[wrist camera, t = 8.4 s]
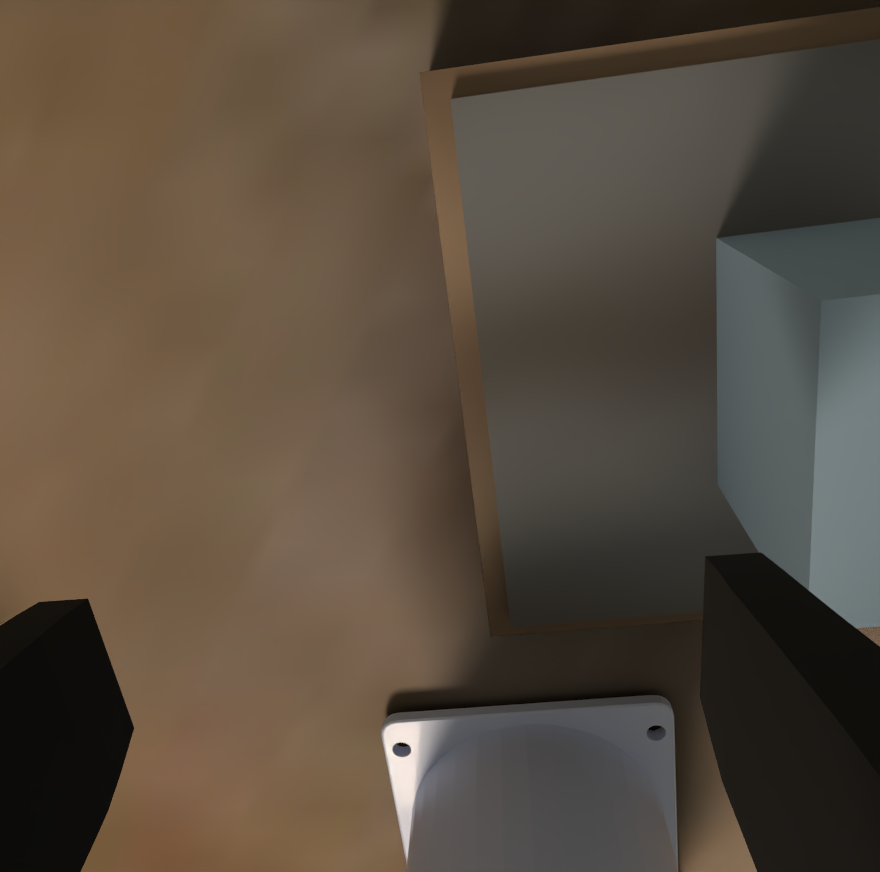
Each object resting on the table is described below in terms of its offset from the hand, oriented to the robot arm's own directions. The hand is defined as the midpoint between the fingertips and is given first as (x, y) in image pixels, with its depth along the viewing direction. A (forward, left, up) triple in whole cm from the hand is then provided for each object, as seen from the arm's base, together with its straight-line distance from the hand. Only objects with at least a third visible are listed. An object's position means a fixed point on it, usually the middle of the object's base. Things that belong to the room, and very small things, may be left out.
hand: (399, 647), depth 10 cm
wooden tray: (0, -8, -10) cm, 13 cm away
